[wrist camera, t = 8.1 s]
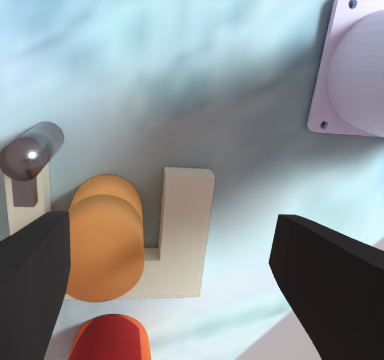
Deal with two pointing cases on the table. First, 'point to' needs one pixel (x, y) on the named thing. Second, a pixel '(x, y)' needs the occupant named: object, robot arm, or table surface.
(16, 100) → the table surface
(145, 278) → the beige u-shaped block
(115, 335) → the paper cup
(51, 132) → the hook post
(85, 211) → the orange rounded cylinder
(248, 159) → the table surface
